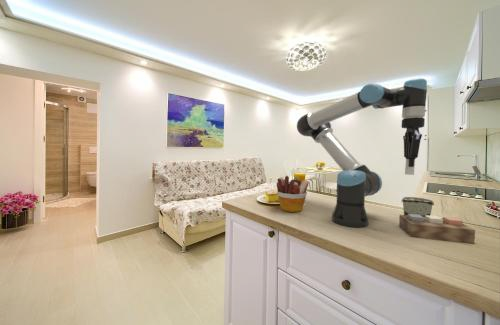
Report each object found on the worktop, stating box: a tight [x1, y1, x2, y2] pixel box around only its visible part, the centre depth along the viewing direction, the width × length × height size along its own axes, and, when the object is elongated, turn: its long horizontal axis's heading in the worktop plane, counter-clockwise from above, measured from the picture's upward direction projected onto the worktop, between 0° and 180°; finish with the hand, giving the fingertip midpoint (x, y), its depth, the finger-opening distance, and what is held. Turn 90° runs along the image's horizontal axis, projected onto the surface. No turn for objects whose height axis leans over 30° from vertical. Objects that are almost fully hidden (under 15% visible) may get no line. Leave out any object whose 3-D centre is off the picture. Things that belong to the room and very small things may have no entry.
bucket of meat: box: [276, 175, 310, 213], centre depth 115 cm, size 20×16×20 cm
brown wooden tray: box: [398, 214, 476, 244], centre depth 82 cm, size 19×12×5 cm, turn 72°
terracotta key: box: [442, 216, 464, 226], centre depth 80 cm, size 4×4×4 cm
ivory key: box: [425, 215, 443, 224], centre depth 82 cm, size 4×4×4 cm
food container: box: [401, 196, 435, 217], centre depth 101 cm, size 12×6×10 cm, turn 65°
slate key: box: [408, 214, 424, 222], centre depth 84 cm, size 4×4×4 cm
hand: (409, 174), depth 88 cm, fingers closed
